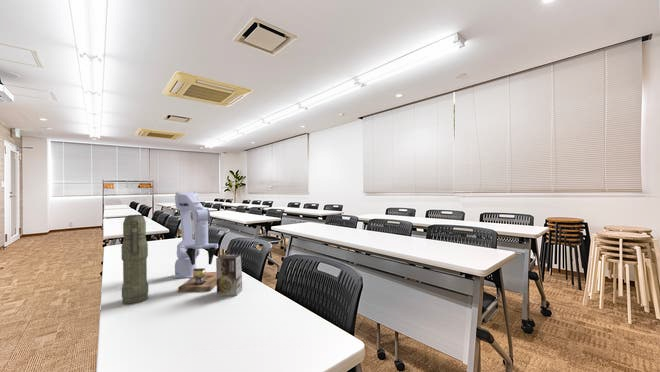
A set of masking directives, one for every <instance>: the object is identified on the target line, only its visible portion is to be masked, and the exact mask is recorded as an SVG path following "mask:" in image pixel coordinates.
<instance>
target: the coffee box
mask: <svg viewBox="0 0 660 372" xmlns="http://www.w3.org/2000/svg"><path fill="white" fill-rule="evenodd" d="M242 256H243V255H242V254H221V255H219V256H218V257H216V258H215V263H216V264H215V266H216V269H215V272H216V274H217V285H216V296H232V297H233V296H238V295H239V294H240V293H241V292H242V291H243V267H242V266H243V264H242V263H243V260H242V258H243V257H242Z"/></svg>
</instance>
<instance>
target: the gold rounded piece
mask: <svg viewBox="0 0 660 372" xmlns="http://www.w3.org/2000/svg"><path fill="white" fill-rule="evenodd" d="M205 272H206V268H205V267H203V268H199V267H198V268H197V267H196V269H193V278H195V285H203V284H204V277H205Z"/></svg>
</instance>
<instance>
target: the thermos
mask: <svg viewBox="0 0 660 372" xmlns="http://www.w3.org/2000/svg"><path fill="white" fill-rule="evenodd" d="M122 226H123V227H122V229H123V230H122V234H123V235H122V236H123V240H122V241H123V242H122V244H121V245H120V246H121V261H122V279H123V281H122V286H121V298H122V301H121V302H122V305H126V306H129V305H130V306H131V305H132V306H133V305H137V304H140V303H143V302H145V301H148V299H149V283H148V278H147V277H148V275H147V273H148V270H147V267H148V266H147V258H148V256H149V247H148V246H149V243H148V241H147V236H146V234H147V221H146V218H145V217H144V215H142V214H132V215H131V214H130V215H127V216H125V218H124V220H123V224H122Z"/></svg>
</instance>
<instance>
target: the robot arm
mask: <svg viewBox="0 0 660 372" xmlns="http://www.w3.org/2000/svg"><path fill="white" fill-rule="evenodd" d="M198 198H199V197H198V192H197V191H180V192H179V191H177V192H176V193H175V195H174V201H175V208H176V209H178V210H179V213H180V224H181V225H180V226H181V237H182V240H181V241H180V242H179V243H178V244H177V246H176V257H177V259H175V263H174V277H173V278H174V279H179V278H182V279H185V278H186V279H188V278H189V279H191V278H192V277H193V269H196V268H197V258H198V256H200V250H201V249H204V250H205V249H207V255H208V265H212V264H213V258H214V256H215V253H216V252H217V249H218V248H219V243H213V242H212V243H209V221H210V219H211V212H210V210H209V208H205V207H204V206H203V204H202V203H201V202H199V200H198ZM191 214H192V216H191ZM191 217H192V219H191ZM192 221H193V223H192ZM192 224H193V227H194V239H193V229H192Z"/></svg>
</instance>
